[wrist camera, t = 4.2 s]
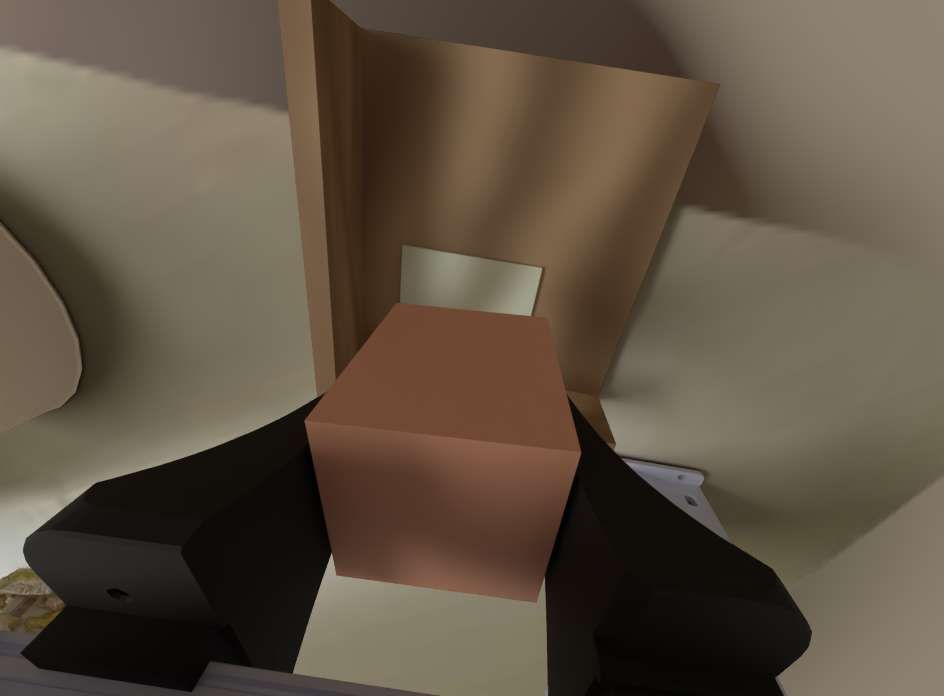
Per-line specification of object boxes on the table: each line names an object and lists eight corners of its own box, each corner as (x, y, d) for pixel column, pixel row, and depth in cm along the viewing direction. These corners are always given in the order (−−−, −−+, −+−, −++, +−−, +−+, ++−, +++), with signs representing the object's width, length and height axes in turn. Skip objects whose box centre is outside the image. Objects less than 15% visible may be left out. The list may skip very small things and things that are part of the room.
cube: (547, 317, 11) (581, 452, 6) (525, 433, 14) (536, 602, 8) (396, 303, 12) (304, 420, 6) (400, 419, 14) (336, 575, 9)
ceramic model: (138, 595, 41) (37, 714, 32) (139, 632, 46) (53, 743, 37) (8, 555, 39) (-136, 670, 30) (25, 598, 44) (-94, 707, 35)
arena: (709, 87, 14) (796, 58, 10) (589, 400, 22) (609, 459, 18) (343, 30, 14) (275, -23, 10) (354, 361, 22) (318, 410, 18)
